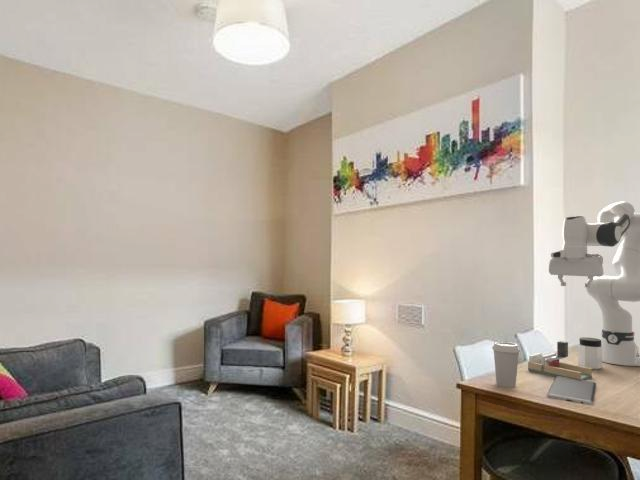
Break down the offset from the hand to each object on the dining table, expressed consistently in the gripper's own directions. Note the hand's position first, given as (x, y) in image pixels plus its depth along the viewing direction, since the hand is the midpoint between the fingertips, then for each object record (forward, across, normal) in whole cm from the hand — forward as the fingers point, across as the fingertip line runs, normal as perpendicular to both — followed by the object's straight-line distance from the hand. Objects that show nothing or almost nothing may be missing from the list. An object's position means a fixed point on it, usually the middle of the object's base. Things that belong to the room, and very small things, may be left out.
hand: (575, 286), depth 183 cm
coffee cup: (+34, +7, +43) cm, 56 cm away
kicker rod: (+34, +4, +9) cm, 35 cm away
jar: (+36, -1, -13) cm, 38 cm away
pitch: (+35, +2, +11) cm, 37 cm away
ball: (+32, +7, +11) cm, 34 cm away
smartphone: (+35, -10, +30) cm, 48 cm away
